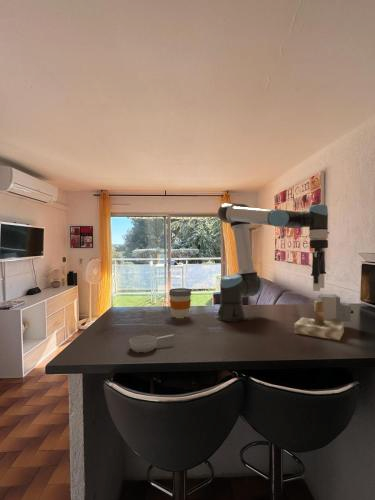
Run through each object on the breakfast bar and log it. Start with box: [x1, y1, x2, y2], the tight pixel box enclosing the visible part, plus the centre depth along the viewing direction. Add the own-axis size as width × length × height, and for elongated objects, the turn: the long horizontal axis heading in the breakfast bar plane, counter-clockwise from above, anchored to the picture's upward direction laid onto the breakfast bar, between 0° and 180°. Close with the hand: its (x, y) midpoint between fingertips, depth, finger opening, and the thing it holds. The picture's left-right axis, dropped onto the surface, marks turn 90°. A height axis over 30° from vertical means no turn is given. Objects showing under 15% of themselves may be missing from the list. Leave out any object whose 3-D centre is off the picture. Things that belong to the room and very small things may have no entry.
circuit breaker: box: [317, 293, 354, 323], centre depth 134 cm, size 8×14×15 cm, turn 76°
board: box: [293, 317, 345, 341], centre depth 126 cm, size 18×14×4 cm
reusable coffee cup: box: [168, 287, 192, 319], centre depth 158 cm, size 13×13×15 cm
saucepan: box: [128, 333, 175, 353], centre depth 110 cm, size 11×18×4 cm, turn 114°
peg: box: [313, 300, 324, 325], centre depth 126 cm, size 4×4×14 cm
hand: (318, 289), depth 126 cm, fingers open, 9 cm apart
